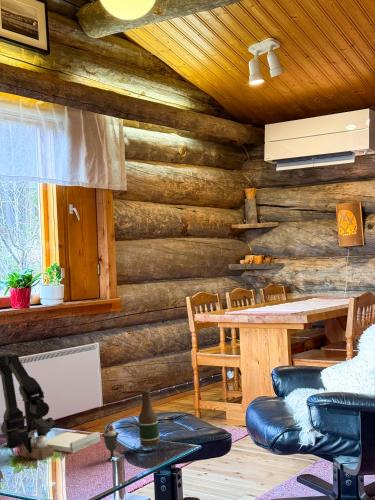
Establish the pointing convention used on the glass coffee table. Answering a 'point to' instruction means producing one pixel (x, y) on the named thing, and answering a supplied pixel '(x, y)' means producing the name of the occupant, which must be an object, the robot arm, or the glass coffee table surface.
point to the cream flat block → (73, 441)
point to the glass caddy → (37, 448)
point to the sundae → (110, 440)
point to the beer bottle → (148, 421)
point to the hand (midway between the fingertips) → (36, 450)
